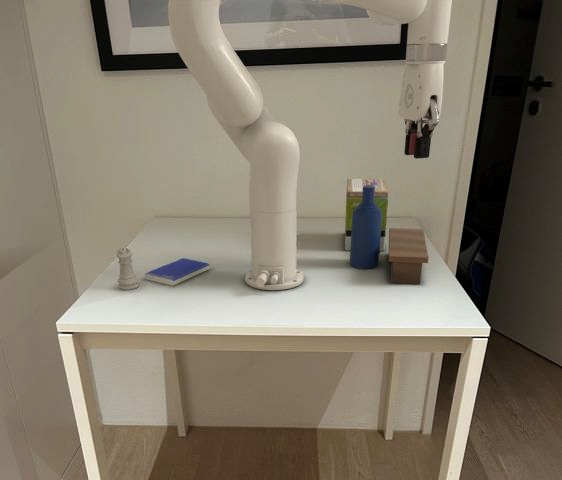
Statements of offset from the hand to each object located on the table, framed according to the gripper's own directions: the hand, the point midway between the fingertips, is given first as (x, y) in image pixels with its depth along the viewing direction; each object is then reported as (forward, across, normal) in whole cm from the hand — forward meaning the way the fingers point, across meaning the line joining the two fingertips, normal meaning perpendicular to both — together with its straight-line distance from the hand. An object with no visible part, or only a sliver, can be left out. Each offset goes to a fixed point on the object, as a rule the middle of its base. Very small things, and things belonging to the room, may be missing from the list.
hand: (416, 155), depth 120 cm
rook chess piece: (+24, -4, -62) cm, 66 cm away
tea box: (+25, -21, -2) cm, 33 cm away
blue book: (+24, -10, -51) cm, 57 cm away
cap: (0, 0, 0) cm, 1 cm away
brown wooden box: (+24, 0, 0) cm, 24 cm away
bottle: (+24, -5, -8) cm, 26 cm away
